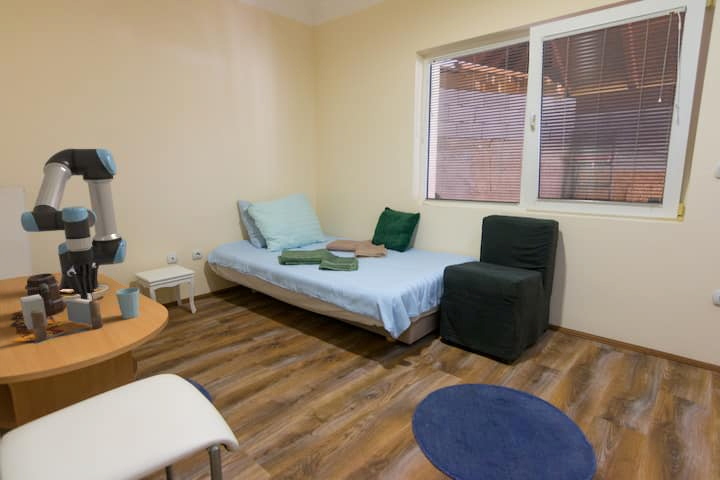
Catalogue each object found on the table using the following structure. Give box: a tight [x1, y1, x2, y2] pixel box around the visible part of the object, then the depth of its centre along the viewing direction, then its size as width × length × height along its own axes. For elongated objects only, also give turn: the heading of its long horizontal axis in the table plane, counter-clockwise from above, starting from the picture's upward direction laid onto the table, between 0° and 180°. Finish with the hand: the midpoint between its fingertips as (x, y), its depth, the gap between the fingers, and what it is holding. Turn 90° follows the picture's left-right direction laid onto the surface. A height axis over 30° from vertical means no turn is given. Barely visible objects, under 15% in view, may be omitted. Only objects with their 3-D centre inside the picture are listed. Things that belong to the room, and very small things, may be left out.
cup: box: [115, 287, 140, 320], centre depth 150 cm, size 8×8×10 cm
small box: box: [19, 294, 48, 331], centre depth 142 cm, size 8×6×10 cm
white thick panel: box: [63, 296, 92, 326], centre depth 142 cm, size 12×2×9 cm, turn 72°
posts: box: [31, 299, 103, 343], centre depth 135 cm, size 19×3×10 cm, turn 127°
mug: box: [24, 272, 67, 317], centre depth 152 cm, size 16×12×15 cm
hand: (88, 309), depth 147 cm, fingers closed
